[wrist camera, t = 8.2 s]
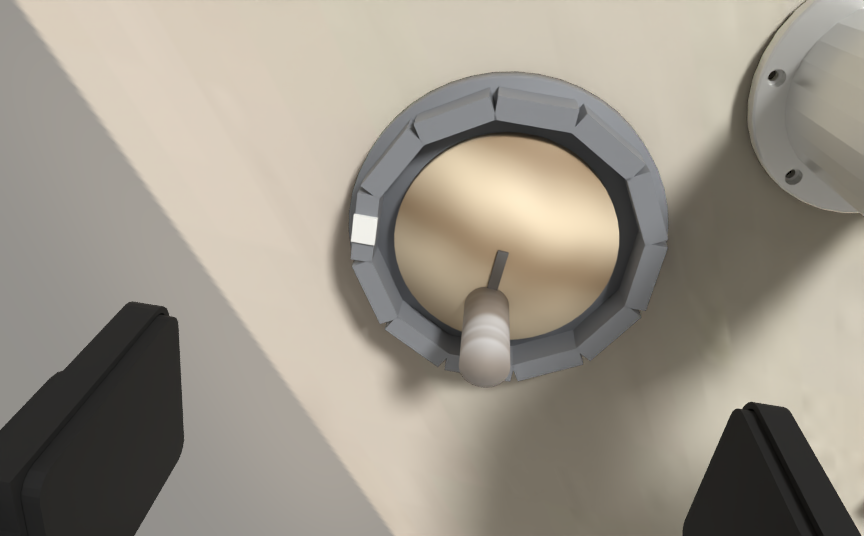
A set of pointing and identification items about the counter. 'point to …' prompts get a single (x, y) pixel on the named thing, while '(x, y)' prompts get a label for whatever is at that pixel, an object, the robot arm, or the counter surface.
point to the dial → (505, 243)
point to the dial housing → (522, 113)
